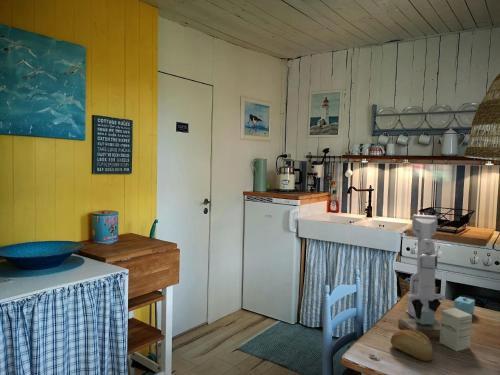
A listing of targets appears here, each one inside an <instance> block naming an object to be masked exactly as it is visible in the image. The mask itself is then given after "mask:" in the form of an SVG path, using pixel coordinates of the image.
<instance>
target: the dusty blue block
mask: <svg viewBox="0 0 500 375" xmlns="http://www.w3.org/2000/svg"><path fill="white" fill-rule="evenodd" d="M435 316H436V312H435V311H433V310H432V309H430V308H429V307H422V310H421V317H420V319H418V318H416V314H415V319H416V320H417V321H418V322H420V323H421V324H434V319H435Z"/></svg>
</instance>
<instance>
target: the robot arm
mask: <svg viewBox="0 0 500 375" xmlns="http://www.w3.org/2000/svg"><path fill="white" fill-rule="evenodd" d="M411 218H412V219H411V220H412V221H411V228H412V230H411V232H412V234H413V235H415V236H416V238H417V260H416V261H417V263H416V264H417V265H416V267H417V269H416V272H415V273H414V274H412V275H411V276H410V279H409V280H410V281H409V293H410V294H407V296H406V300H407V309H406V310H405V312H406V313H408V314H409V315H410V316H411V317H412V318H415V314H416V318H418V319H420V317H421V310H422V307H429V308H430V309H432V310H433V311H435V313H437V310H438V308H439V307H440V305H441V301H445V295H444V294H442V293H436V282H435V281H436V270H437V269H438V262H439V261H438V259H439V258H438V255H437V252H436V249H435V243H434V241H433V240H432V237H433V236H435V233H436V231H437V228H438V217H437V215H435V214H434V215H427V214H415V213H414V214H413V215H412V217H411Z"/></svg>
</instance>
